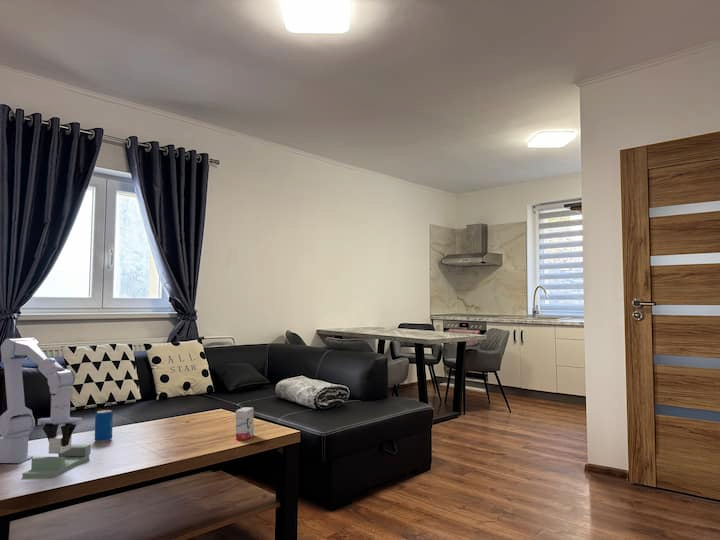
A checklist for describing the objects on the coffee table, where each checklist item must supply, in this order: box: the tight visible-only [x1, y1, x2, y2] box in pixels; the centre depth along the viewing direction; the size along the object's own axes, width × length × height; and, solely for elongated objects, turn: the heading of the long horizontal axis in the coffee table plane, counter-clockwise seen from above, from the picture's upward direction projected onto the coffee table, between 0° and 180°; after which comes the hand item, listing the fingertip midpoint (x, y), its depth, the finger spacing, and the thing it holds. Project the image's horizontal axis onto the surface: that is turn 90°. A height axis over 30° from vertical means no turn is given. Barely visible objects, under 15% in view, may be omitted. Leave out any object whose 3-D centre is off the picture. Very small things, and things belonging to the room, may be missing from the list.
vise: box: [21, 454, 90, 479], centre depth 168 cm, size 10×20×5 cm, turn 178°
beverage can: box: [94, 409, 114, 443], centre depth 203 cm, size 6×6×12 cm
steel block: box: [48, 433, 73, 455], centre depth 169 cm, size 4×6×5 cm, turn 178°
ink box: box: [235, 406, 255, 441], centre depth 206 cm, size 9×5×12 cm, turn 171°
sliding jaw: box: [57, 443, 92, 457], centre depth 177 cm, size 10×4×4 cm, turn 88°
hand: (59, 445), depth 169 cm, fingers closed on steel block, 4 cm apart
